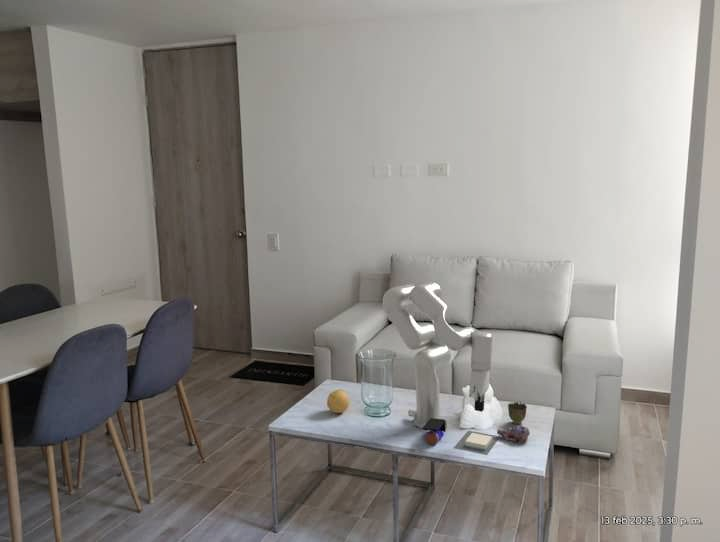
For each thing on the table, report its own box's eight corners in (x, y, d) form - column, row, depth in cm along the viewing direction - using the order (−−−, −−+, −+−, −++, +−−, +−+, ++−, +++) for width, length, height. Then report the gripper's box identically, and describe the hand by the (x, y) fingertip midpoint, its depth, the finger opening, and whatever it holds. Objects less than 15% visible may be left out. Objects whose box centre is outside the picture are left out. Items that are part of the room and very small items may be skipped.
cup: (507, 419, 246) (507, 401, 245) (525, 420, 244) (526, 402, 243) (508, 427, 239) (508, 408, 237) (527, 428, 237) (527, 409, 236)
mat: (453, 448, 221) (453, 447, 221) (468, 431, 236) (468, 430, 236) (487, 456, 215) (487, 454, 215) (500, 437, 229) (500, 436, 229)
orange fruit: (351, 408, 263) (350, 386, 262) (348, 416, 254) (347, 394, 252) (329, 407, 265) (328, 386, 263) (325, 416, 255) (324, 394, 253)
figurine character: (431, 433, 239) (421, 445, 224) (431, 414, 238) (421, 425, 224) (447, 435, 236) (438, 448, 222) (448, 416, 236) (439, 427, 222)
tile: (472, 437, 229) (465, 446, 222) (472, 432, 229) (465, 441, 222) (492, 441, 225) (485, 450, 218) (492, 436, 225) (485, 445, 218)
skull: (494, 438, 227) (496, 422, 226) (499, 433, 234) (502, 418, 233) (525, 446, 221) (527, 431, 221) (530, 441, 228) (532, 426, 227)
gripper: (477, 357, 230) (475, 401, 234) (464, 369, 217) (463, 415, 221) (496, 360, 226) (494, 405, 230) (484, 372, 214) (482, 419, 217)
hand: (479, 410), depth 225 cm, fingers closed
